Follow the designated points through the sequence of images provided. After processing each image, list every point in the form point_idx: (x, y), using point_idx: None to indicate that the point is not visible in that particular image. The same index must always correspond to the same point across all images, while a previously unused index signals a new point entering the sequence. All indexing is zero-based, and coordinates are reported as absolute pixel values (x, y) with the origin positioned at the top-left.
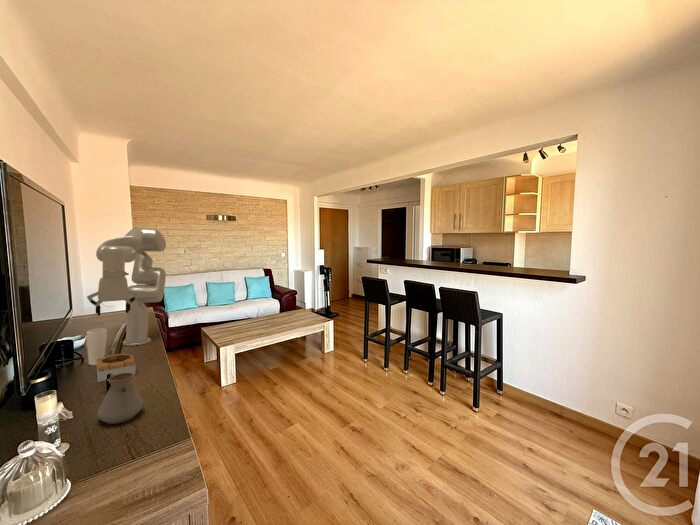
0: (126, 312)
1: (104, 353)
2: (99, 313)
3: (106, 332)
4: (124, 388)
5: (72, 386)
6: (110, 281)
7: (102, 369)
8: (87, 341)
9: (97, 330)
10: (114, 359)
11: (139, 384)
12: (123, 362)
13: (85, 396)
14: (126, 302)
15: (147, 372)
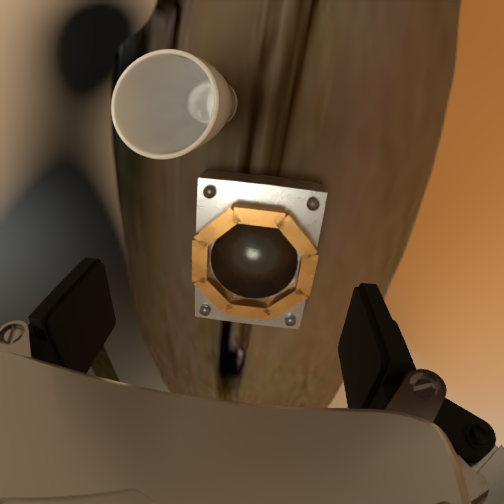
0: (338, 347)
1: (231, 115)
2: (103, 337)
3: (220, 117)
4: None
5: (148, 281)
6: None
7: (207, 313)
8: (139, 121)
9: (173, 55)
10: (254, 227)
11: (284, 367)
12: (266, 319)
13: (179, 353)
14: (385, 395)
15: (328, 312)
